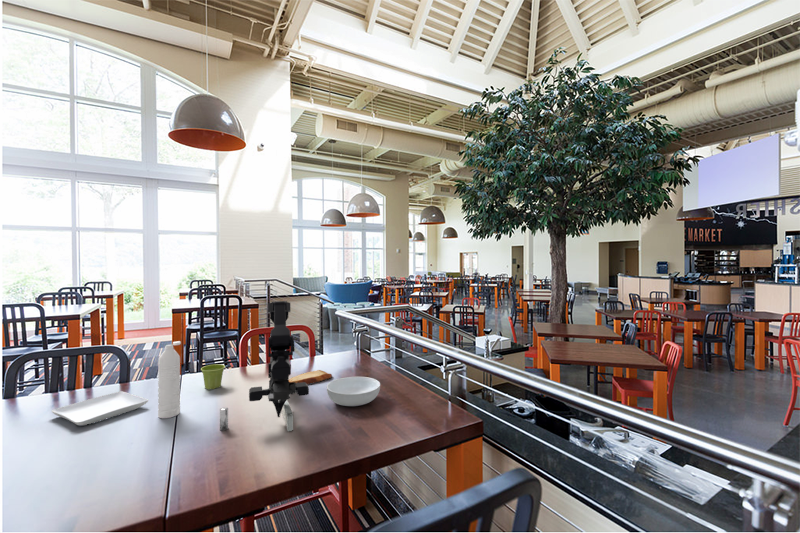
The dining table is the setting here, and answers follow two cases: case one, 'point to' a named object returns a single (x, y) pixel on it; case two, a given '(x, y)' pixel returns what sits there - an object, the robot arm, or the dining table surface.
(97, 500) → the dining table surface
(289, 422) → the bar
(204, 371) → the plant pot
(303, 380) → the bread slice
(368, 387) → the serving bowl
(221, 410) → the post
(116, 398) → the salad plate
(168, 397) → the water bottle
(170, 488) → the dining table surface
